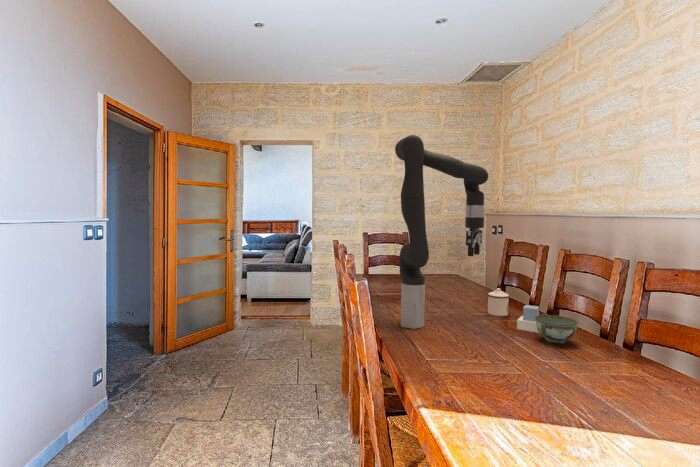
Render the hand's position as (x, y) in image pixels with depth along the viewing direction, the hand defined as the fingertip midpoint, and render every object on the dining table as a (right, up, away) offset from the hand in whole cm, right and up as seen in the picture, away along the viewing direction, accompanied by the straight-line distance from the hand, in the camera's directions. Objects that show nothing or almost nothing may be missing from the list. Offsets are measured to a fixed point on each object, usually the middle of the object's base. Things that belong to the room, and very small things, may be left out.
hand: (473, 255), depth 160 cm
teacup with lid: (+16, -28, +16) cm, 36 cm away
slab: (+20, -29, -8) cm, 36 cm away
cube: (+20, -25, -8) cm, 33 cm away
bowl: (+22, -30, -23) cm, 43 cm away
